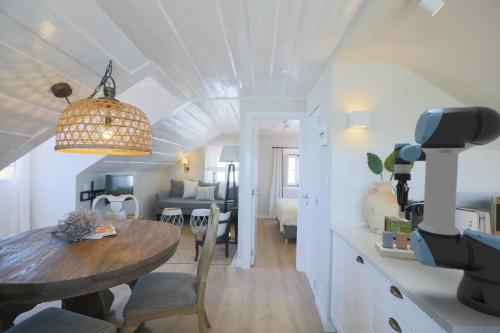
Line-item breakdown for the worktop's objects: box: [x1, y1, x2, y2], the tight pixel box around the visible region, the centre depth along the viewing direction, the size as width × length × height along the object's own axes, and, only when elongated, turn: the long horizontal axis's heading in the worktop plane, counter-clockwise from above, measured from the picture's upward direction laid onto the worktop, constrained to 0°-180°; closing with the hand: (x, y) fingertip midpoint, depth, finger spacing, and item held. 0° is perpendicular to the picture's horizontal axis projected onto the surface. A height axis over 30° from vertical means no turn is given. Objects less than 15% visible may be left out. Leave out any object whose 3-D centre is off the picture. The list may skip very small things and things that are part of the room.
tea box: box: [383, 215, 412, 245], centre depth 147 cm, size 15×10×15 cm, turn 168°
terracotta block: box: [396, 232, 407, 248], centre depth 128 cm, size 4×4×7 cm
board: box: [374, 241, 416, 260], centre depth 128 cm, size 14×22×3 cm, turn 75°
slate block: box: [381, 230, 393, 247], centre depth 129 cm, size 4×4×7 cm
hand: (401, 217), depth 128 cm, fingers closed
